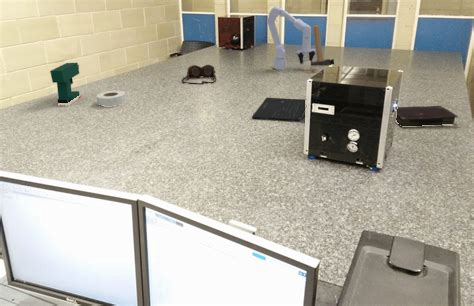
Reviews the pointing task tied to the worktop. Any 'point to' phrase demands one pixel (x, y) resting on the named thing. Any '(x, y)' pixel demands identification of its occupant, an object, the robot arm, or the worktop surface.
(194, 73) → the goggles
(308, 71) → the brown rectangular board
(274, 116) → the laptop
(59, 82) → the power tool
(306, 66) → the hollow square socket
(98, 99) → the roll of tape
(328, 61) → the hammer
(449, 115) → the diary
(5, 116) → the worktop surface
